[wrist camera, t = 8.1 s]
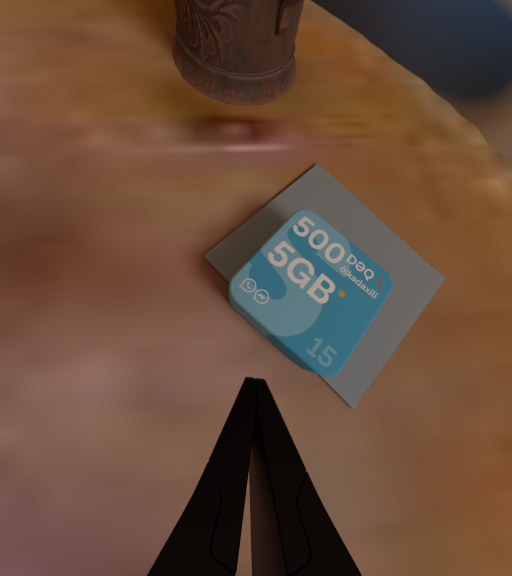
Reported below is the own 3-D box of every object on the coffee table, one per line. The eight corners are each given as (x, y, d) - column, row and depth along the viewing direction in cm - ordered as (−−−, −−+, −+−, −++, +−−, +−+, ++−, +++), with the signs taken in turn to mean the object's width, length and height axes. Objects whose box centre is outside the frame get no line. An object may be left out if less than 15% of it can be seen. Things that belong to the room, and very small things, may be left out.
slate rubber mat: (442, 279, 27) (445, 279, 26) (350, 407, 21) (352, 409, 21) (316, 165, 29) (318, 163, 28) (203, 257, 23) (203, 255, 23)
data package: (220, 288, 18) (303, 201, 21) (221, 298, 22) (290, 225, 25) (331, 386, 17) (399, 280, 20) (310, 376, 21) (369, 291, 24)
